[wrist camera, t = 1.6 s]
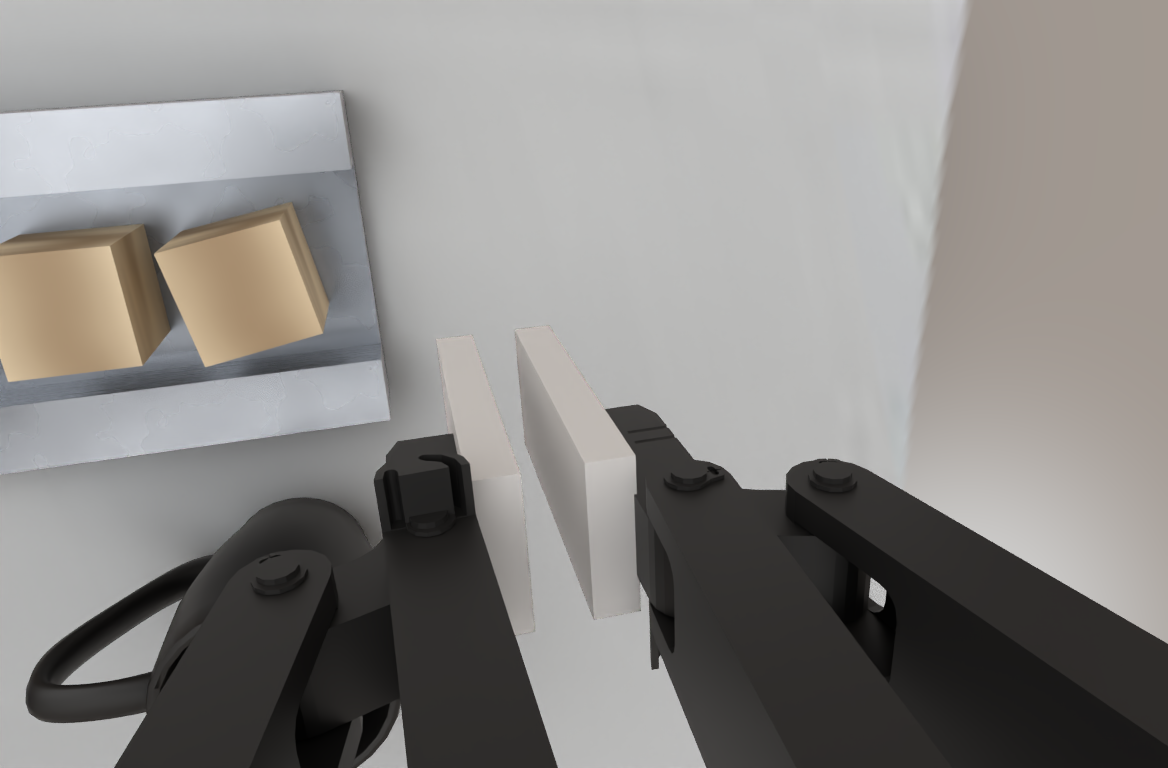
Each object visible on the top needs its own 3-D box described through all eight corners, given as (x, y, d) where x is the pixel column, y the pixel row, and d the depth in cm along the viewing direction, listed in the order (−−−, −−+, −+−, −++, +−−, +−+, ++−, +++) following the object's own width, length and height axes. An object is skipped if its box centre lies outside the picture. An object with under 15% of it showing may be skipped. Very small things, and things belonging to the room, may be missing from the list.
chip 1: (53, 343, 30) (8, 382, 26) (19, 234, 28) (-35, 259, 25) (170, 330, 30) (142, 365, 27) (143, 223, 29) (110, 246, 25)
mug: (97, 464, 33) (-4, 606, 24) (403, 470, 36) (410, 598, 27) (108, 635, 35) (20, 818, 27) (392, 627, 38) (396, 788, 30)
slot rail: (-6, 445, 31) (-43, 480, 29) (-124, 119, 27) (-180, 125, 24) (389, 392, 34) (390, 420, 32) (342, 90, 30) (339, 92, 27)
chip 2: (225, 332, 31) (205, 367, 27) (181, 231, 29) (153, 254, 26) (329, 303, 31) (322, 333, 28) (291, 201, 30) (279, 220, 26)
